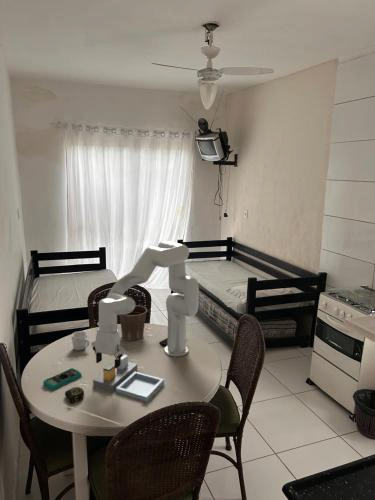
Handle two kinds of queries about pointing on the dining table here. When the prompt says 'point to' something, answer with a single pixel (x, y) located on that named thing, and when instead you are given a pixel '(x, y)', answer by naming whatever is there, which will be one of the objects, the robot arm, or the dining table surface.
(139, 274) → the robot arm
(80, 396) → the tape measure
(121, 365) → the block
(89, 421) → the dining table surface
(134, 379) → the parts tray
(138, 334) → the plant pot
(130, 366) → the fuse block
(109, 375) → the block
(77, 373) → the digital multimeter
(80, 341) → the cup
